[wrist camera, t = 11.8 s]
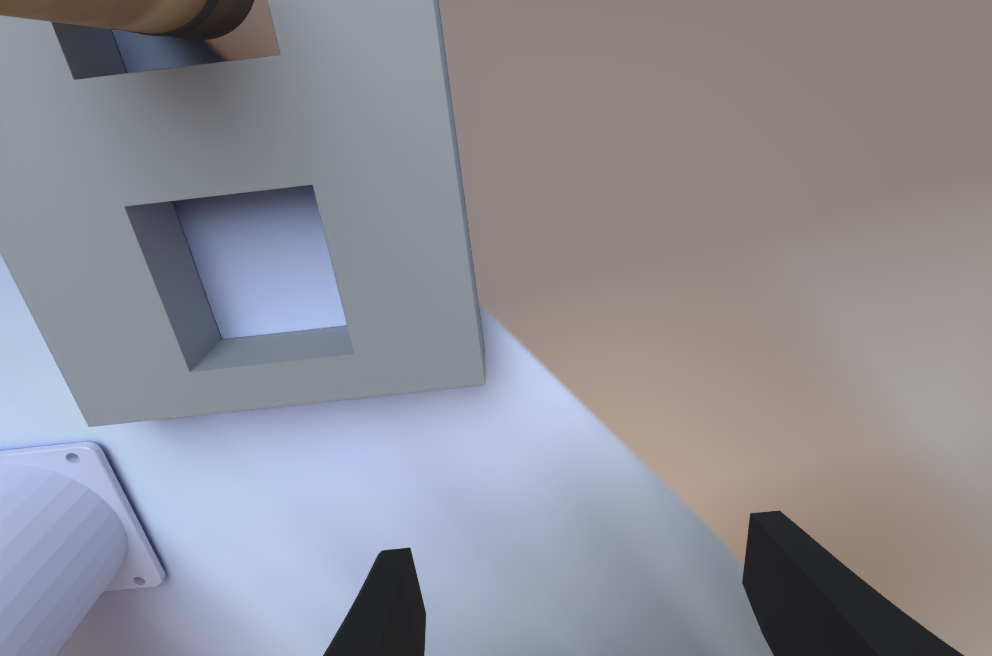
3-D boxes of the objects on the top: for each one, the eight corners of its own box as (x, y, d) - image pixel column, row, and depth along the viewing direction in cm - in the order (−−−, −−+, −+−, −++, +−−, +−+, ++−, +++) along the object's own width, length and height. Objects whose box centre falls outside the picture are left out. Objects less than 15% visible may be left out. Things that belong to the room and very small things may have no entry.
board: (130, 389, 21) (89, 426, 19) (-146, -215, 14) (-268, -272, 12) (484, 351, 21) (485, 384, 19) (400, -290, 14) (384, -362, 11)
